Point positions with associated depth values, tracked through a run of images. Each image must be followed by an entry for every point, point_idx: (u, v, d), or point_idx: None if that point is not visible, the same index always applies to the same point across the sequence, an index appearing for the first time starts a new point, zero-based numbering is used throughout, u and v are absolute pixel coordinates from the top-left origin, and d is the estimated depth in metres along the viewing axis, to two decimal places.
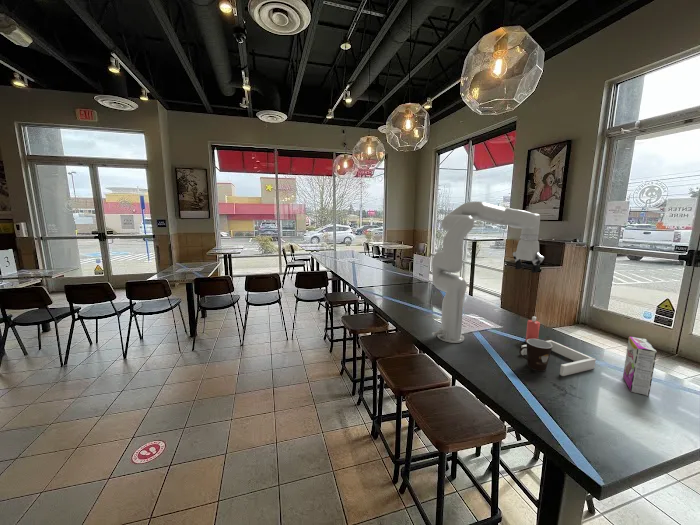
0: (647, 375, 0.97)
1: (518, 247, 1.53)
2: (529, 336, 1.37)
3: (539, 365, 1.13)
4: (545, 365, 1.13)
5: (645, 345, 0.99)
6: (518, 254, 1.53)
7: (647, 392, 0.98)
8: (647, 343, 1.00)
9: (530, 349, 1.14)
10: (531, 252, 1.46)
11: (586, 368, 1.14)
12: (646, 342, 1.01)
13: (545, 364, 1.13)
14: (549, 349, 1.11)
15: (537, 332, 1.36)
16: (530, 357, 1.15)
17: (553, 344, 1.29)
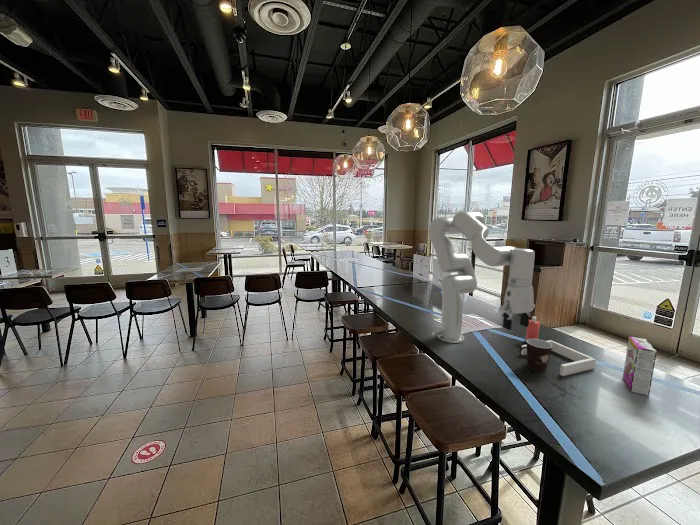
0: (647, 375, 0.97)
1: (517, 298, 1.05)
2: (529, 336, 1.37)
3: (539, 365, 1.13)
4: (545, 365, 1.13)
5: (645, 345, 0.99)
6: (517, 308, 1.06)
7: (647, 392, 0.98)
8: (647, 343, 1.00)
9: (530, 349, 1.14)
10: (532, 300, 1.08)
11: (586, 368, 1.14)
12: (646, 342, 1.01)
13: (545, 364, 1.13)
14: (549, 349, 1.11)
15: (537, 332, 1.36)
16: (530, 357, 1.15)
17: (553, 344, 1.29)
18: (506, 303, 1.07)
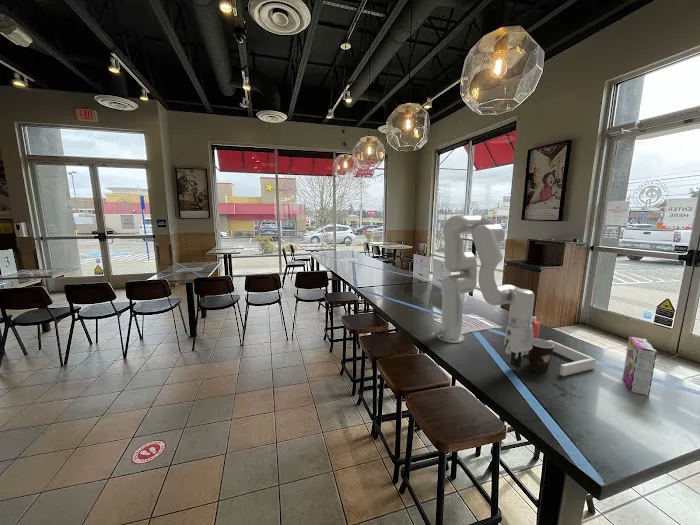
0: (647, 375, 0.97)
1: (517, 338, 1.08)
2: None
3: (541, 365, 1.13)
4: (547, 365, 1.13)
5: (645, 345, 0.99)
6: (517, 347, 1.09)
7: (647, 392, 0.98)
8: (647, 343, 1.00)
9: (532, 349, 1.14)
10: (532, 339, 1.11)
11: (586, 368, 1.14)
12: (646, 342, 1.01)
13: (547, 364, 1.13)
14: (551, 349, 1.11)
15: (537, 332, 1.36)
16: (532, 357, 1.15)
17: None
18: (508, 344, 1.11)
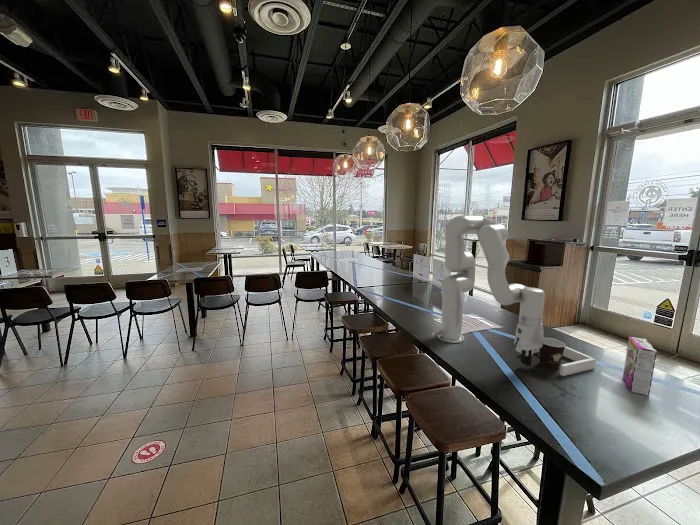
0: (647, 375, 0.97)
1: (527, 336, 1.10)
2: None
3: (551, 363, 1.14)
4: (557, 364, 1.14)
5: (645, 345, 0.99)
6: (528, 345, 1.10)
7: (647, 392, 0.98)
8: (647, 343, 1.00)
9: (542, 347, 1.16)
10: (542, 337, 1.12)
11: (586, 368, 1.14)
12: (646, 342, 1.01)
13: (557, 363, 1.14)
14: (561, 348, 1.12)
15: None
16: (542, 355, 1.16)
17: None
18: (519, 342, 1.12)
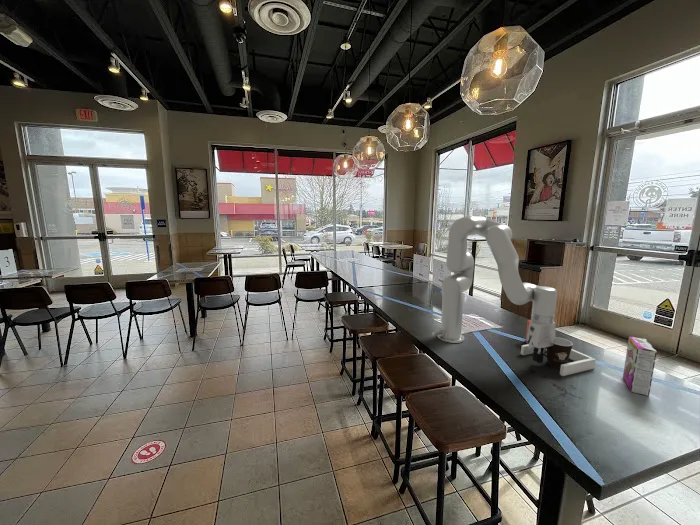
0: (647, 375, 0.97)
1: (540, 334, 1.12)
2: None
3: (556, 362, 1.15)
4: (563, 363, 1.15)
5: (645, 345, 0.99)
6: (540, 343, 1.12)
7: (647, 392, 0.98)
8: (647, 343, 1.00)
9: None
10: (554, 335, 1.14)
11: (586, 368, 1.14)
12: (646, 342, 1.01)
13: (563, 362, 1.14)
14: (566, 347, 1.13)
15: None
16: (548, 353, 1.18)
17: None
18: (531, 340, 1.14)
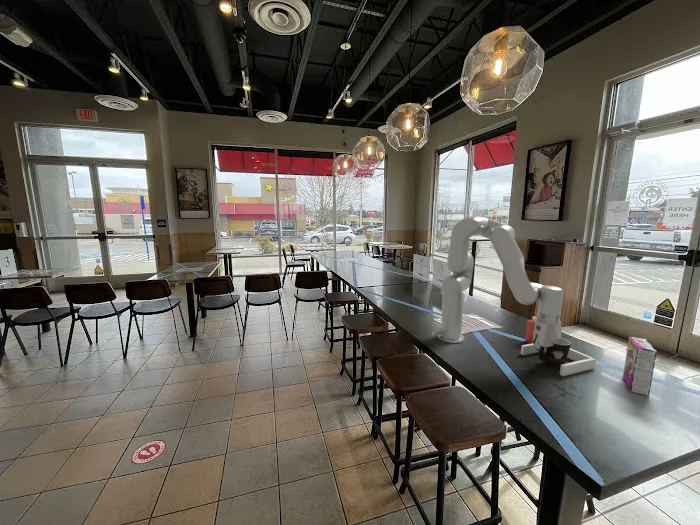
0: (647, 375, 0.97)
1: (546, 333, 1.13)
2: (529, 336, 1.37)
3: (552, 360, 1.16)
4: (559, 362, 1.15)
5: (645, 345, 0.99)
6: (546, 341, 1.13)
7: (647, 392, 0.98)
8: (647, 343, 1.00)
9: None
10: (560, 334, 1.15)
11: (586, 368, 1.14)
12: (646, 342, 1.01)
13: (559, 361, 1.15)
14: (562, 346, 1.13)
15: None
16: None
17: None
18: (537, 339, 1.15)
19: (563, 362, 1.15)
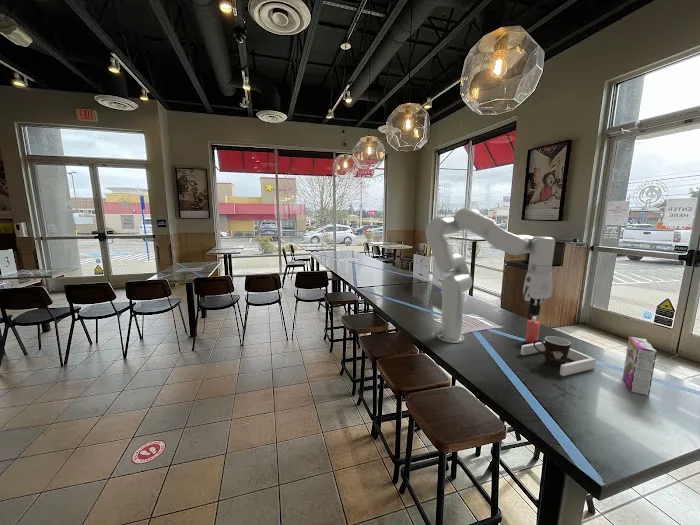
0: (647, 375, 0.97)
1: (537, 284, 1.10)
2: (529, 336, 1.37)
3: (552, 360, 1.16)
4: (559, 362, 1.15)
5: (645, 345, 0.99)
6: (537, 293, 1.10)
7: (647, 392, 0.98)
8: (647, 343, 1.00)
9: (545, 344, 1.19)
10: (551, 286, 1.12)
11: (586, 368, 1.14)
12: (646, 342, 1.01)
13: (559, 361, 1.15)
14: (562, 346, 1.13)
15: (537, 332, 1.36)
16: (545, 352, 1.19)
17: None
18: (527, 291, 1.12)
19: (563, 362, 1.15)
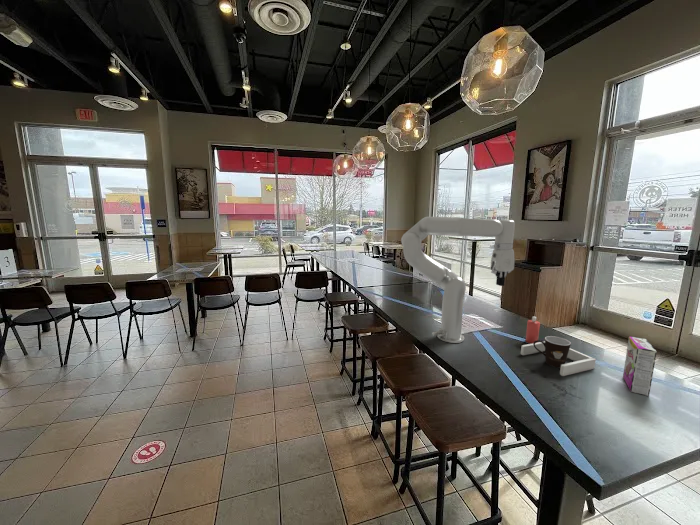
0: (647, 375, 0.97)
1: (500, 258, 1.32)
2: (529, 336, 1.37)
3: (552, 360, 1.16)
4: (559, 362, 1.15)
5: (645, 345, 0.99)
6: (501, 266, 1.33)
7: (647, 392, 0.98)
8: (647, 343, 1.00)
9: (545, 344, 1.19)
10: (513, 261, 1.35)
11: (586, 368, 1.14)
12: (646, 342, 1.01)
13: (559, 361, 1.15)
14: (562, 346, 1.13)
15: (537, 332, 1.36)
16: (545, 352, 1.19)
17: None
18: (494, 265, 1.35)
19: (563, 362, 1.15)
